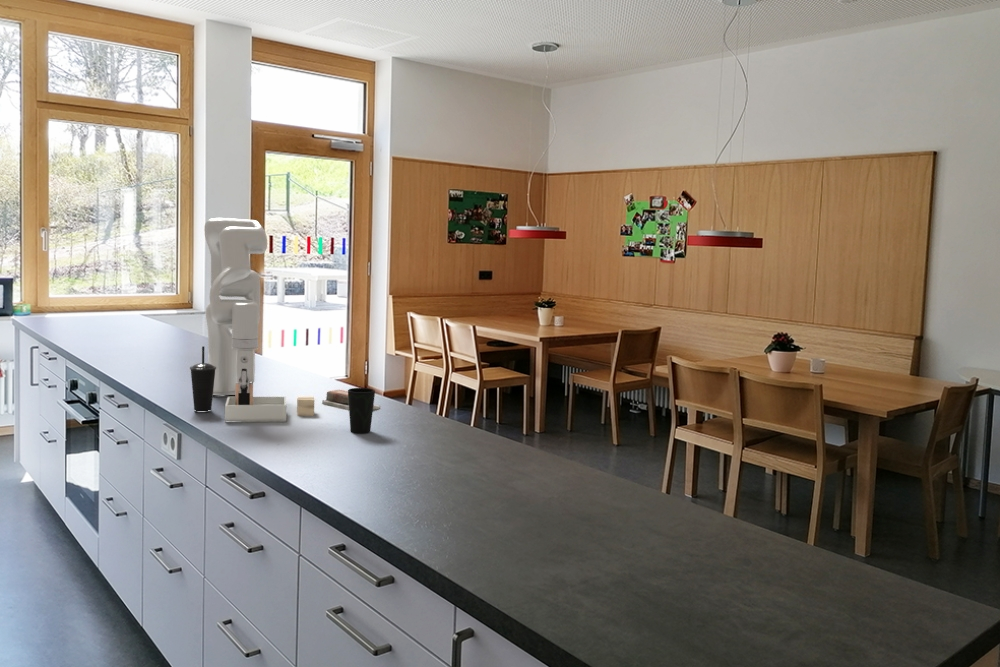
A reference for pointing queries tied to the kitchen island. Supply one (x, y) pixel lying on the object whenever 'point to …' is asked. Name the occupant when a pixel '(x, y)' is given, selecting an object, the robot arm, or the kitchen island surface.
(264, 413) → the tote
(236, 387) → the cylinder
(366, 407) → the cup
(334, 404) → the packaged product
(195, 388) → the drinking cup
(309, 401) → the cube
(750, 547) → the kitchen island surface
